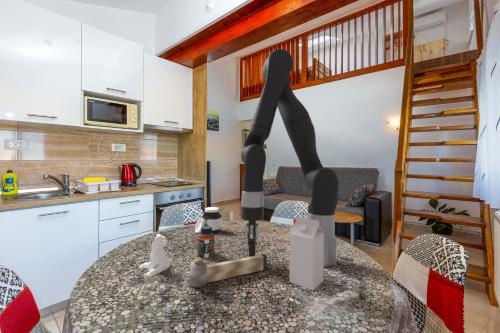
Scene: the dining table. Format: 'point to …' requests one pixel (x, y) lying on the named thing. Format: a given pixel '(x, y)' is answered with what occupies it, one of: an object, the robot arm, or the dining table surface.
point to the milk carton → (306, 253)
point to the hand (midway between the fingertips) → (252, 255)
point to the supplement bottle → (206, 242)
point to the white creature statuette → (157, 257)
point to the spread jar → (210, 220)
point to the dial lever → (224, 269)
